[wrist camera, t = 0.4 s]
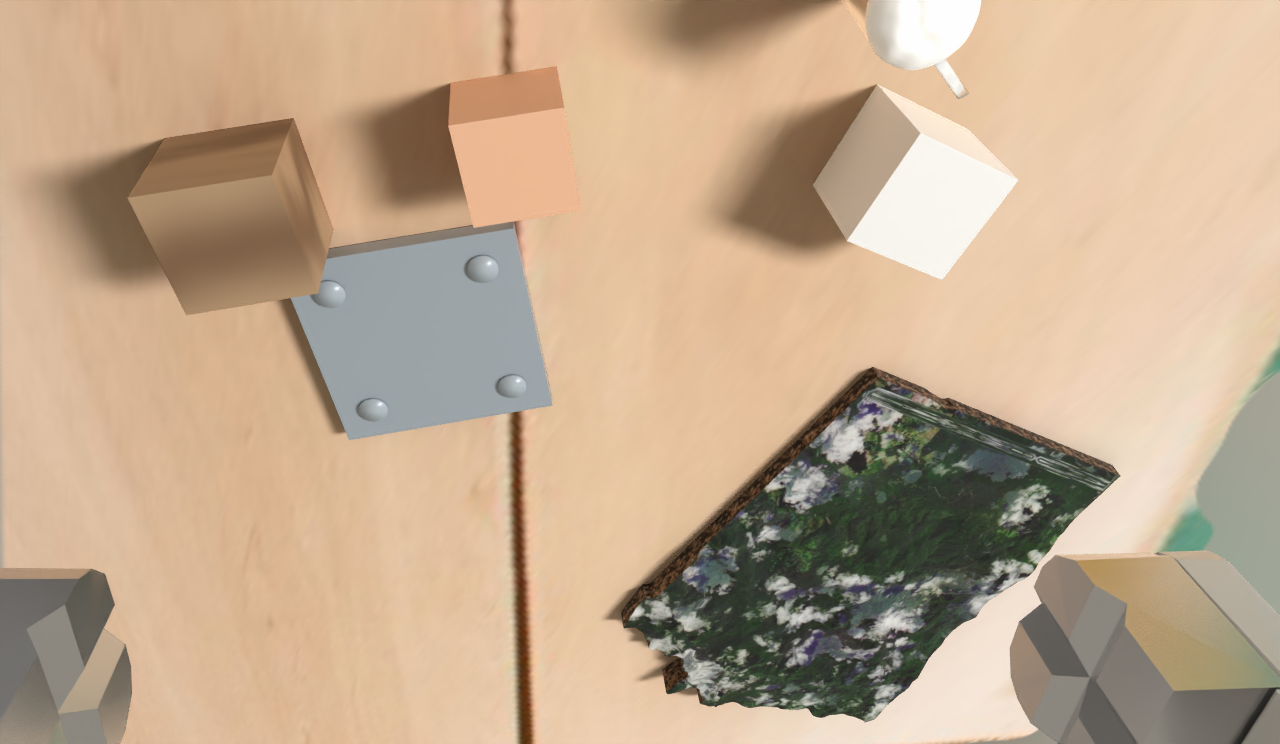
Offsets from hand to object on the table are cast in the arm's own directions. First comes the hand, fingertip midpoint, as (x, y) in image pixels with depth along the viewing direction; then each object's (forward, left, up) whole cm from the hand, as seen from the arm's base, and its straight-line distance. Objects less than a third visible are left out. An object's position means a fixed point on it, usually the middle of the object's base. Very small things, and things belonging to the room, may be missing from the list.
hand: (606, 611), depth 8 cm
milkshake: (+7, +15, -39) cm, 42 cm away
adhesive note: (+17, +17, -39) cm, 45 cm away
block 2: (+12, -2, -38) cm, 40 cm away
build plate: (+23, -9, -38) cm, 45 cm away
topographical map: (+50, +15, -39) cm, 65 cm away
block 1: (+13, -15, -38) cm, 43 cm away
